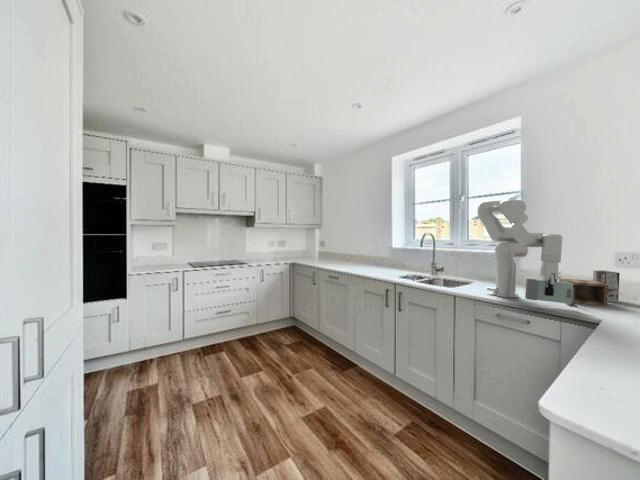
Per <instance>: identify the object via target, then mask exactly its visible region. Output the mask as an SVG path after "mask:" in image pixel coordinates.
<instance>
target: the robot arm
mask: <svg viewBox="0 0 640 480" xmlns="http://www.w3.org/2000/svg"><path fill="white" fill-rule="evenodd" d="M526 210H527V204H526V203H525V201H523V200H521V199H504V200H495V199H492V200H491V199H489V200H482V201H481V202H480V203H479V204H478V207H477V210H476V211H477V216H478V218H479V220H480V222H481V223H482V225H483V226H484V228H485V230H486V232H487V234H488V236H489V238H490V239H491V241H492V242H494V243H497V245H496V246H495V249H494V253H495V256H496V258H495V259H496V276H495V278H496V279H495V280H496V282H495V286H494V287H490V286H486V290H487V291H490V292H492V294H493V295H494V296H498V297H502V298H510V299H511V298H512V299H513V298H514V299H515V298H517V299H518V298H519V297H520V295H519V294H518V293H516V292H517V291H516V288H517V264H516V261H515V259H522V258H524V257H527V256H528V253H529V249H528V248H541V252H540V253H541V254H540V261H541V267H540V269H541V270H540V271H541V272H540V275H539V279H540V280H543V281H545V282H546V281H547V282H546V287H545V295H548V296H553V292H554V284H555V283H554V282H558V281H559V280H558V279H559V278H558V277H559V274H558V273H559V264H560V263H561V262H562V247H563V236H562V235H561V234H559V233H558V234H557V233H555V234H554V233H545V232H543V233H541V232H529V231H528V230H527V229H526V228H525V226H524V224H526V223H527V221H528V220H529V216H528V215H527V214H526V213H525V211H526ZM495 215H503V216H504V218H506V220H507V221H508V222H509V223H510V225H511V227H509V226H503V224H502V223H501V221H500V220H499V218H498V217H496V216H495ZM548 283H549V284H548Z"/></svg>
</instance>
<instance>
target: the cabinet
mask: <svg viewBox="0 0 640 480" xmlns="http://www.w3.org/2000/svg"><path fill="white" fill-rule="evenodd" d="M558 279H559V280H558V282H566V283H573V295H572V304H567V303H564V304H565V305H567V306H568V307H572V306H574V307H575V308H578V307H579V306H578V305H576V304H581V303H582V304H584V305H593V306H603V307H608V302H607V295H608V285H607V284H604V283H602V282H599V281H593V279H592V280H589V279H588V280H587V279H575V278H574V279H573V278H562V277H560V278H558ZM574 307H573V308H574Z"/></svg>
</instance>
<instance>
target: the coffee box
mask: <svg viewBox="0 0 640 480" xmlns="http://www.w3.org/2000/svg"><path fill="white" fill-rule="evenodd" d="M592 272H593V274H592V281H599V282H602V283H604V284H607V285H608V295H607V303H619V295H620V293H619V292H620V272H616V271H609V270H592Z"/></svg>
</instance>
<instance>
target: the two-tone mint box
mask: <svg viewBox="0 0 640 480" xmlns="http://www.w3.org/2000/svg"><path fill="white" fill-rule="evenodd" d="M525 282H526V283H525V293H524V294H525V296H524V298H525V299H526V300H530V301H542V302H551V303H558V304H559V303H560V304H565V303H567V304H572V295H573V283H566V282H559V281H557V282H554V283H555V284H554V292H553V296H548V295H545V287H546V282H547V281H546V282H545V281H543V280H542V279H532V278H526V281H525ZM548 284H549V283H548ZM567 304H566V305H567Z"/></svg>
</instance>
